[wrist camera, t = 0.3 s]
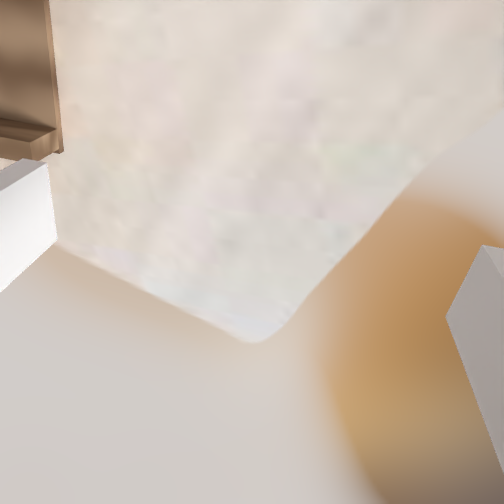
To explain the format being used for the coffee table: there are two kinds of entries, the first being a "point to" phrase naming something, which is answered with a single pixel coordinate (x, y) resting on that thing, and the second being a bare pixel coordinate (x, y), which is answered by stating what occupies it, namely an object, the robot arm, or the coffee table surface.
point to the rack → (28, 82)
